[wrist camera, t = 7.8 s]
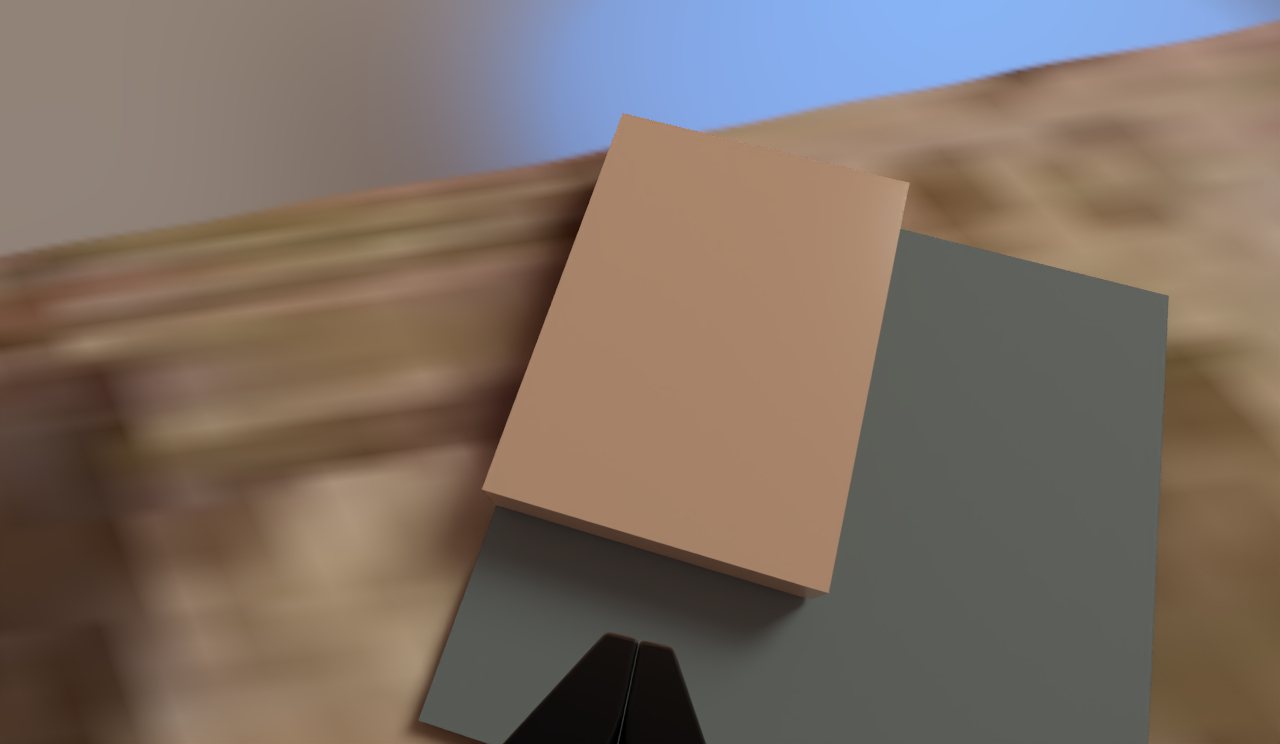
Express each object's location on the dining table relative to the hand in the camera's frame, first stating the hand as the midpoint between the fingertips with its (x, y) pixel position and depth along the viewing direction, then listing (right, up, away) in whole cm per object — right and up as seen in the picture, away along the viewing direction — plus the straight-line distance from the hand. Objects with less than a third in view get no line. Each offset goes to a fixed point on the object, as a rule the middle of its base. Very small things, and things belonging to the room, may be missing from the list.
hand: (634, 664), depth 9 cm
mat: (+5, +1, +10) cm, 12 cm away
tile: (0, 0, +8) cm, 8 cm away
